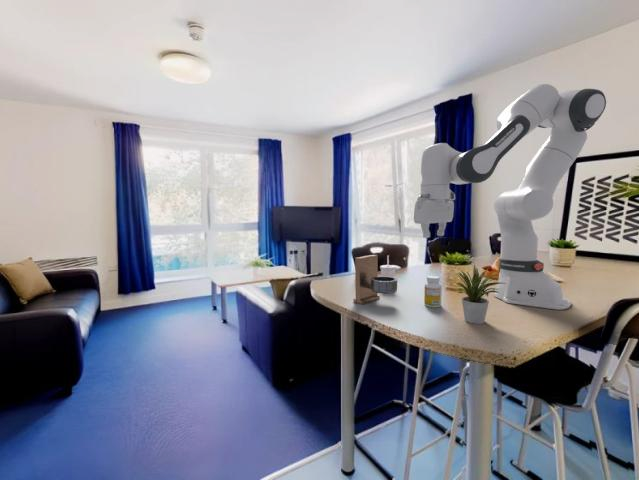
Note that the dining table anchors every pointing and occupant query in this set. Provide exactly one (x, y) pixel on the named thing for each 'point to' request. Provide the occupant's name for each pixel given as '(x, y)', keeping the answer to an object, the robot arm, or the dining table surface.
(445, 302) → the dining table surface
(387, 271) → the smoothie
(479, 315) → the house plant
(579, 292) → the dining table surface
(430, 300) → the supplement bottle
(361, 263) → the cup bracket
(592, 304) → the dining table surface
